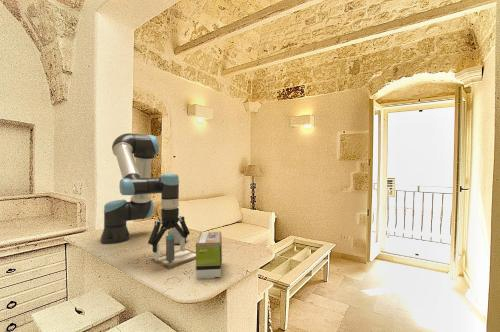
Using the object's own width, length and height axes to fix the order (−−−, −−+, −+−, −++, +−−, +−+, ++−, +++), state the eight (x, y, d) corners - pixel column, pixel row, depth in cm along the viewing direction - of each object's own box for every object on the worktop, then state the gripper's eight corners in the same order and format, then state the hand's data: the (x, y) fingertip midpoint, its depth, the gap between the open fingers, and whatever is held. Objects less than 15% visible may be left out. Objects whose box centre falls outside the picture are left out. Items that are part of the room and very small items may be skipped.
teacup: (181, 246, 132) (181, 231, 132) (163, 245, 134) (163, 230, 134) (192, 238, 146) (192, 225, 146) (176, 237, 148) (176, 224, 148)
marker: (165, 262, 108) (165, 236, 108) (171, 260, 110) (171, 234, 110) (169, 264, 107) (169, 237, 106) (174, 262, 109) (174, 235, 108)
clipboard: (149, 259, 113) (149, 257, 113) (183, 248, 128) (183, 246, 128) (168, 269, 103) (168, 266, 103) (203, 256, 118) (203, 253, 118)
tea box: (200, 263, 109) (200, 231, 109) (222, 263, 110) (222, 231, 110) (195, 279, 94) (195, 242, 94) (221, 278, 95) (221, 241, 95)
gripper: (148, 213, 96) (148, 266, 97) (197, 205, 116) (197, 249, 116) (139, 210, 101) (139, 261, 101) (187, 203, 120) (187, 245, 120)
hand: (170, 255), depth 108 cm, fingers open, 12 cm apart
